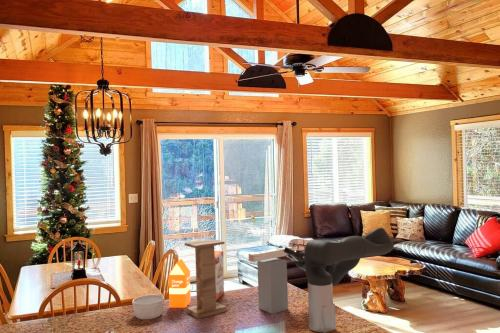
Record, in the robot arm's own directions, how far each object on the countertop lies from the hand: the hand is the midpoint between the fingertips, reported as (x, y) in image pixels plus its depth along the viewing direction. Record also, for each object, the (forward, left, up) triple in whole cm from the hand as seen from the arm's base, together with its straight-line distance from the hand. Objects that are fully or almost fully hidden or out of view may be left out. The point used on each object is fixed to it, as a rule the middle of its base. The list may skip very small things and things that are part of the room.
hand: (282, 248), depth 192 cm
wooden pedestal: (+16, +30, -25) cm, 42 cm away
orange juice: (+33, +34, -26) cm, 54 cm away
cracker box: (+32, +16, -26) cm, 44 cm away
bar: (0, +6, -3) cm, 7 cm away
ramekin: (+29, +51, -26) cm, 64 cm away
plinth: (0, +6, -25) cm, 26 cm away
